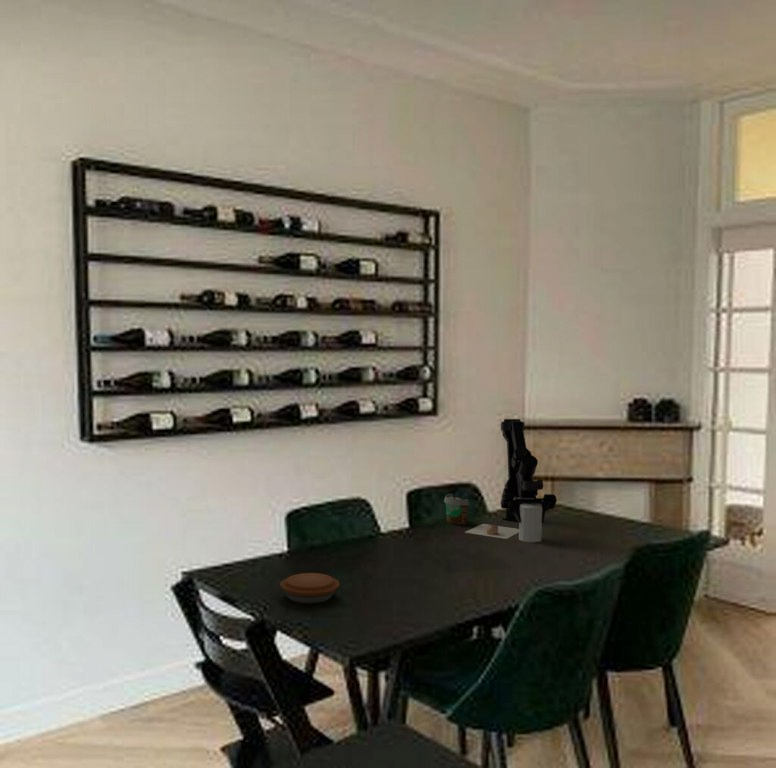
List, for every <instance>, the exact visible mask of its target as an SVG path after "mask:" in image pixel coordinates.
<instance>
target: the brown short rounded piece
mask: <svg viewBox="0 0 776 768" xmlns="http://www.w3.org/2000/svg"><path fill="white" fill-rule="evenodd" d="M498 526H499V525H495V524H494V525H493V524H488V526H487V534H489V535H497V534H498Z"/></svg>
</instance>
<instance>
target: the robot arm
mask: <svg viewBox="0 0 776 768" xmlns="http://www.w3.org/2000/svg"><path fill="white" fill-rule="evenodd" d="M500 430H501V431H502V432H501V433H502V437H503V438H504V440H505V441H506V450H507V451H506V456H507V473H508V474H507V476H508V479H507V480H506V483H504V488H503V489H502V494H501V499H500V509H504V510H505V516H504V517H502V520H504V519H505V521H511V522H518V523H520V522H521V518H520V505H521V504H538V505H541V506H542V524H543V523H544V520H545V516H546V512H548V511H549V510H553V509H555V507H556V504H557V496H556V495H555V494H554V493H548V494H547V493H544V494H543V497H542V498H541V497H537V496H538V493H539V492H538V491H539V490H543V489H544V481H543V479H536V480H534V475H535V474H536V470H537V466H538V463H539V462H538V458H537V457H536V456H534V455H533V454H532V451H530V450H529V449H528V448H527V445H526V444H527V443H526V440H525V439H526V438H525V434H524V431H525V421H522V420H521V419H520V418H504V419H503V421H501V423H500Z"/></svg>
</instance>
